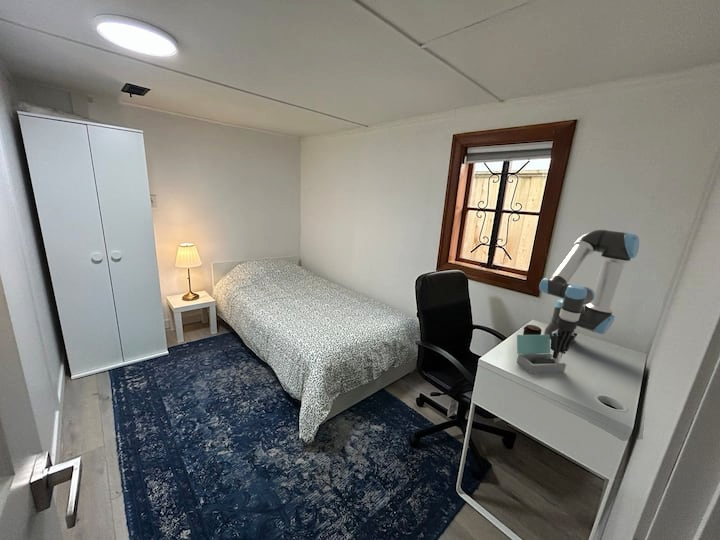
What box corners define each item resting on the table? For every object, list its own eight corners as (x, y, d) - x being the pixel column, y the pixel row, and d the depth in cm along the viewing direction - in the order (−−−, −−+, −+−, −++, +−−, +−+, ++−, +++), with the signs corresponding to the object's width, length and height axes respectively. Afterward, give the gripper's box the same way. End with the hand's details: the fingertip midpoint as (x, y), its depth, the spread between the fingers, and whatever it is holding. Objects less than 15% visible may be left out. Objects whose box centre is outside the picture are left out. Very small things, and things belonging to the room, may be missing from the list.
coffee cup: (540, 354, 153) (546, 331, 150) (524, 353, 153) (530, 330, 150) (531, 346, 161) (537, 324, 158) (516, 344, 161) (521, 322, 158)
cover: (550, 353, 147) (549, 353, 147) (549, 334, 147) (548, 334, 148) (518, 353, 143) (517, 353, 144) (517, 335, 144) (516, 334, 144)
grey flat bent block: (548, 360, 147) (550, 353, 146) (564, 372, 138) (566, 364, 137) (516, 361, 144) (518, 354, 143) (530, 373, 135) (532, 365, 134)
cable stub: (549, 365, 144) (549, 358, 145) (555, 366, 141) (554, 359, 142) (532, 366, 142) (531, 358, 143) (537, 367, 139) (536, 359, 140)
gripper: (573, 315, 141) (560, 359, 147) (549, 315, 138) (537, 359, 145) (587, 322, 134) (572, 368, 140) (563, 322, 131) (549, 368, 137)
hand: (554, 363), depth 142 cm, fingers closed
